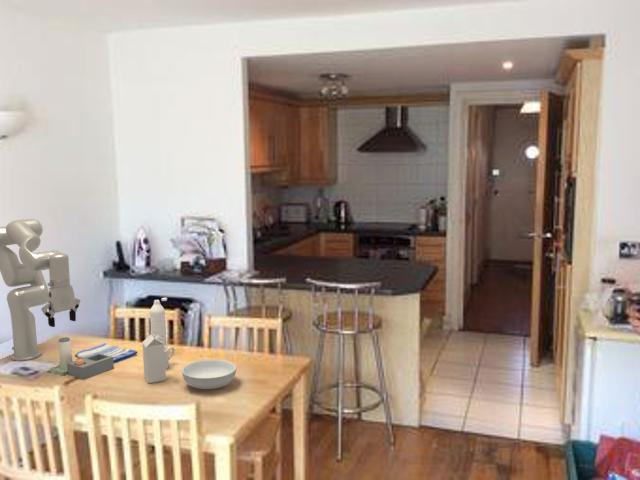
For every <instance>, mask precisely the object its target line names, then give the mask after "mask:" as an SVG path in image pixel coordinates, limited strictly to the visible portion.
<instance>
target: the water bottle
mask: <svg viewBox="0 0 640 480" xmlns="http://www.w3.org/2000/svg"><path fill="white" fill-rule="evenodd" d="M160 300H161V302H167V301H168V297H162V298H161V299H160ZM160 300H159V299H154V300H153V305H152V306H151V308H150V310H149V318H150V319H149V320H150V323H149V324H150V333H151V332H152V333H153V334H154V335H155V337H156V336H157V335H158V336H159V337H161V338H162V339H161V341H162V343H163V344H164V346H166V347H167V346H168V345H167V331H166V328H167V327H166V316H165V315H166V310H165V308H164V306H162V304H161V302H160Z"/></svg>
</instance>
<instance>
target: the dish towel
mask: <svg viewBox="0 0 640 480" xmlns="http://www.w3.org/2000/svg"><path fill="white" fill-rule="evenodd" d="M96 353H100V354H104V355H108V356H111V357H113V363H114V364H117V363H119V362H122V361H125V360H127V359H130V358H134V357H136V356H138V350H135V349H130V348H125V347H123V348H121V347H119V346H116V345H111V344H107V343H106V342H103V343H102V344H98V345H96V346H92V347H89V348H86V349H85V348H84V349H82V350H79V351H76V353H75V355H74V357H75V358H77V359H82V358H84V357H87V356H90V355H93V354H96Z"/></svg>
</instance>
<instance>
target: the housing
mask: <svg viewBox="0 0 640 480" xmlns="http://www.w3.org/2000/svg"><path fill="white" fill-rule="evenodd" d="M82 359H84V364H83V365H80V366H77V365H76V360H72V362H70V363H67V370H68V375H67V376H70V377H73V376H74V377H73V378H76V377H77V378H76V379H80V380H87V379H88V378H89V379H90V378H91V377H94V376H97V375H99V374H102V373H104V372H108V371H110V370H113V369H114V368H115V366H114V364H115V363H113V357H111V356H108V355H104V354H100V353H96V354H93V355H90V356H87V357H84V358H82Z"/></svg>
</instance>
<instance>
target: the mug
mask: <svg viewBox="0 0 640 480" xmlns="http://www.w3.org/2000/svg"><path fill="white" fill-rule="evenodd" d="M166 346H167V345H166ZM166 346H164V351H165V371H166V370H167V369H169V367H170V363H169V361H170V359H171V358H172V357H173V355H174V353H175V348H174V347H173V346H171V345H170V346H168V347H166ZM170 349H171V353H170V355H169V352H170V351H169V350H170Z"/></svg>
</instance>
